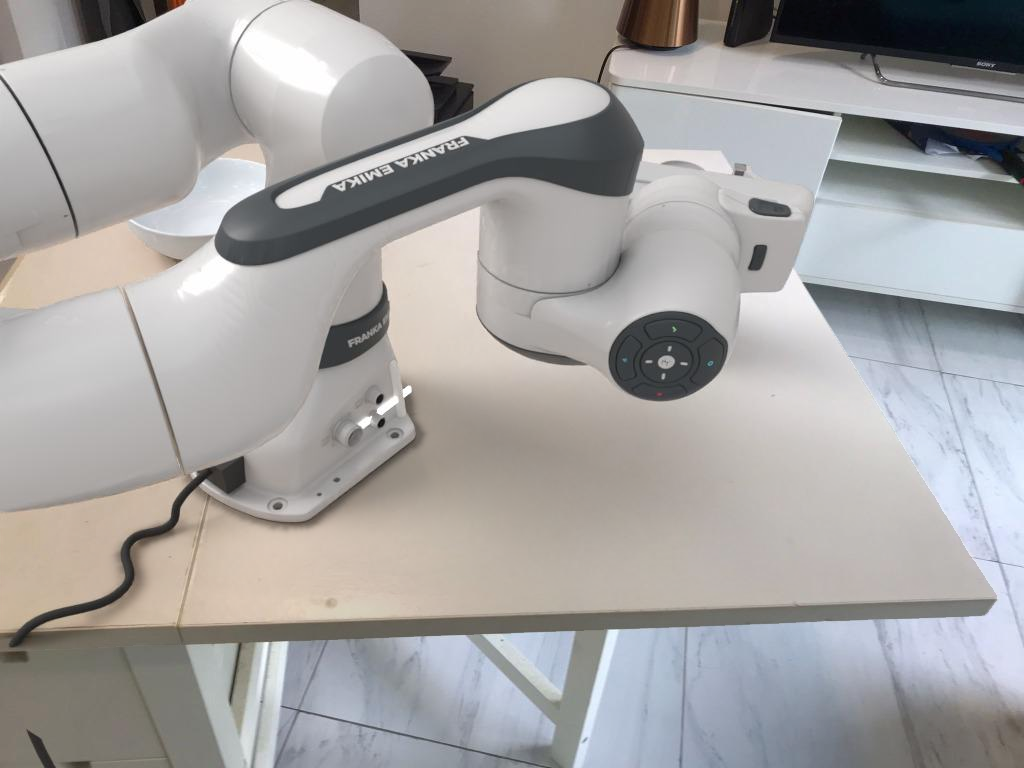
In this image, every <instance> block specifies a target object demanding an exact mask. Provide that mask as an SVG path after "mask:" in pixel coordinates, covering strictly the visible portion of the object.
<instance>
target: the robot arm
mask: <svg viewBox="0 0 1024 768" xmlns="http://www.w3.org/2000/svg"><path fill="white" fill-rule="evenodd" d="M434 103H435V102H434V95H433V91H432V89H431V85H430V84H429V81H428V79H427V78H426V76H425V75H424V73H423V71H421V69H420V68H419V67H418V66H417V65H416V64H415V63H414V62H413V61H412V60H411V59H410V58H409V57H408V56H407V55H406V54H405V53H404V52H403V51H402V50H401V49H400V48H399V47H397V46H396V45H395V44H394V43H393V42H392V41H390V39H388V37H386V36H384V34H382V33H381V32H379V31H378V30H376V29H374V28H372V27H370V26H368V25H366V24H363V23H362V22H360V21H358V20H355V19H352V18H351V17H348V16H346V15H344V14H342V13H340V12H338V11H335V10H333V9H331V8H329V7H327V6H325V5H322V4H320V3H317V2H314V1H312V0H185V1H184V3H183V4H181V5H180V6H178V7H176V8H174V9H172V10H169V11H167V12H165V13H164V14H161V15H159V16H157V17H155V18H153V19H151V20H150V21H148V22H145V23H143V24H141V25H139V26H137V27H134V28H132V29H129V30H126V31H125V32H122V33H119V34H116V35H114V36H111V37H107V38H104V39H102V40H98V41H93V42H89V43H84V44H80V45H77V46H73V47H68V48H65V49H60V50H57V51H53V52H48V53H44V54H40V55H36V56H32V57H31V56H30V57H27V58H24V59H20V60H19V59H18V60H15V61H10V62H7V63H2V64H0V262H1V261H6V260H10V259H15V258H19V257H22V256H26V255H29V254H33V253H35V252H40V251H43V250H47V249H50V248H54V247H57V246H59V245H62V244H65V243H69V242H71V241H72V242H73V241H74V240H77V239H80V238H82V237H85V236H89V235H91V234H94V233H96V232H97V233H98V232H99V231H103V230H105V229H107V228H110V227H113V226H117V225H119V224H122V223H126V221H128V220H131V219H134V218H137V217H139V216H142V215H145V214H148V213H151V212H154V211H156V210H159V209H162V208H165V207H168V206H170V205H173V204H176V203H178V202H180V201H182V200H183V199H185V198H186V197H187V196H188V195H189V194H190V193H191V192H192V190H193V189H194V187H195V185H196V182H197V179H198V176H199V172H200V171H201V170H203V169H204V168H205V167H206V166H207V165H209V164H210V163H211V162H213V161H214V160H216V159H217V158H221V157H222V156H223V155H225V154H227V153H228V152H230V151H231V150H234V149H237V148H239V147H241V146H246V145H255V144H256V145H259V148H260V150H261V152H262V156H263V159H264V163H265V165H266V181H265V189H263V190H261V191H259V192H257V193H255V194H253V195H251V196H249V197H247V198H245V199H243V200H242V201H240V202H238V203H237V204H235V205H234V206H233V207H232V208H230V209H229V210H228V211H227V212H226V214H225V215H224V217H223V219H222V222H221V224H220V226H219V229H218V231H217V233H216V235H215V236H214V237H213V238H212V239H211V240H210V241H209V242H207V243H206V244H205V245H204V246H203V247H201V248H200V249H199V250H198V251H196V252H195V253H194V254H192V255H191V256H189V257H188V258H186V259H185V260H180V262H178V263H176V264H174V265H172V266H171V267H169V268H167V269H165V270H163V271H161V272H158V273H156V274H153V275H151V276H149V277H145V278H143V279H139V280H135V281H133V282H129V283H125V284H122V285H121V286H122V287H121V288H120V286H119V285H117V286H112V287H108V288H104V289H99V290H95V291H91V292H87V293H83V294H80V295H76V296H74V297H70V298H65V299H62V300H59V301H55V302H52V303H49V304H46V305H44V306H43V305H42V306H40V307H37V308H15V307H14V308H13V307H4V306H0V514H14V513H20V512H21V513H22V512H28V511H35V510H42V509H49V508H56V507H60V506H65V505H72V504H77V503H84V502H88V501H92V500H98V499H101V498H106V497H110V496H116V495H120V494H124V493H127V492H131V491H136V490H139V489H143V488H146V487H151V486H154V485H157V484H162V483H164V482H167V481H171V480H174V479H178V478H180V477H182V473H183V475H184V476H188V475H190V477H191V479H192V480H191V481H190V482H188V483H187V485H186V486H185V487H184V488H183V489H182V490H181V491H180V492H179V493H178V495H177V496H176V497H175V499H174V501H173V503H172V506H171V509H170V510H171V511H170V518H169V519H168V520H167V521H166V522H165V523H163V524H161V525H159V526H155V527H150V528H145V529H141V530H138V531H135V532H133V533H131V534H130V535H129V536H128V537H126V539H125V540H124V541H123V543H122V546H121V548H120V553H119V554H120V561H121V563H122V568H123V571H124V578H123V581H122V583H121V584H120V585H119V586H118V587H117V588H116V589H115V590H114V591H112V592H110V593H108V594H107V595H105V596H103V597H100V598H97V599H93V600H91V601H86V602H82V603H78V604H72V605H68V606H64V607H60V608H59V607H58V608H56V609H52V610H49V611H45V612H43V613H41V614H38V615H37V616H34V617H32V618H31V619H30V620H28V621H26V622H25V623H24V624H23V625H22V626H21V627H20V628H19V629H18V630H17V631H16V632H15V634H14V635H13V636H12V637H11V640H10V641H9V643H8V647H9V648H15V647H18V646H19V645H21V644H22V642H23V641H24V640H25V638H26V637H27V636H28V635H29V634H30V633H32V631H33V630H35V629H36V628H38V627H40V626H42V625H45V624H47V623H49V622H52V621H55V620H59V619H62V618H66V617H67V618H68V617H71V616H76V615H81V614H85V613H89V612H93V611H96V610H99V609H102V608H105V607H107V606H109V605H111V604H113V603H115V602H116V601H118V600H120V599H121V598H122V597H123V596H124V595H126V593H128V592H129V590H130V589H131V587H132V585H133V584H134V581H135V578H136V571H135V566H134V564H133V563H134V562H133V560H132V556H131V550H132V547H133V546H134V544H135V543H137V542H138V541H140V540H144V539H147V538H152V537H157V536H160V535H164V534H166V533H169V532H170V531H171V530H173V529H174V528H175V527H176V526H177V524H178V523H179V520H180V516H181V508H182V506H183V504H184V503H185V501H186V500H187V498H188V497H189V496H190V495H191V494H192V493H193V492H194V491H195V490H196V489H197V488H198V487H199V488H200V489H201V490H202V491H203V492H204V493H206V494H207V495H209V496H210V497H211V498H213V499H215V500H216V501H217V502H220V503H222V504H224V505H225V506H228V507H229V508H232V509H235V510H237V511H239V512H241V513H244V514H247V515H249V516H252V517H255V518H259V519H263V520H267V521H272V522H279V523H280V522H281V523H301V522H302V523H303V522H306V521H308V520H310V519H312V518H313V517H315V516H316V515H318V514H319V513H320V512H322V511H323V510H324V509H325V508H327V507H328V506H330V504H332V503H334V502H335V501H336V500H337V499H338V498H340V497H341V496H343V495H344V494H345V493H346V492H348V491H349V490H350V489H352V488H353V487H354V486H356V484H358V483H360V481H362V480H364V479H365V478H366V477H368V475H370V474H372V473H373V472H374V471H375V470H376V469H377V468H379V467H380V466H382V465H383V464H384V463H385V462H387V461H388V460H389V459H390V458H392V457H393V456H394V455H396V454H397V453H398V452H400V451H402V449H404V448H405V447H406V446H408V445H409V444H410V443H412V441H414V440H415V438H416V435H417V434H416V433H417V432H416V427H415V424H414V422H413V420H412V419H411V417H410V415H409V413H408V412H407V408H406V401H405V398H406V397H407V396H408V395H409V394H411V393H412V386H411V385H407V386H405V388H403V383H402V377H401V370H400V366H399V361H398V359H397V356H396V354H395V352H394V348H393V346H392V343H391V341H390V337H389V334H388V330H389V326H390V312H391V305H390V303H391V302H390V300H389V295H388V287H387V285H386V283H385V281H384V280H383V264H382V263H383V261H382V260H383V259H382V248H384V247H386V246H387V245H389V244H391V243H393V242H395V241H397V240H399V239H402V238H404V237H408V236H409V235H412V234H414V233H417V232H420V231H422V230H424V229H427V228H429V227H432V226H435V225H437V224H440V223H442V222H444V221H447V220H449V219H452V218H454V217H457V216H459V215H461V214H464V213H467V212H469V211H471V210H475V209H476V208H479V222H478V223H479V224H478V225H479V226H478V231H479V232H478V249H477V253H476V258H477V259H476V289H475V290H476V295H475V296H476V297H475V298H476V302H475V303H476V304H475V311H476V316H477V319H478V321H479V322H480V323H481V326H483V328H484V329H485V330H486V331H487V333H488V334H489V335H490V336H491V337H492V338H494V339H495V340H496V341H497V342H498V343H500V344H501V345H502V346H504V348H507V349H508V350H510V351H512V352H514V353H516V354H518V355H520V356H522V357H525V358H527V359H530V360H534V361H537V362H541V363H544V364H545V363H546V364H552V365H557V366H572V367H575V366H576V367H577V366H590V367H592V368H594V369H595V370H597V372H599V373H601V374H602V375H603V376H604V377H605V378H606V379H607V380H608V381H609V382H610V383H611V384H612V385H613V386H614V387H615V388H616V389H618V390H619V391H621V392H622V393H624V394H626V395H628V396H630V397H632V398H635V399H638V400H641V401H642V400H643V401H647V402H648V401H649V402H656V403H664V402H665V403H666V402H673V401H678V400H681V399H684V398H686V397H689V396H692V395H693V394H695V393H698V392H699V391H700V390H702V389H704V388H705V387H706V386H707V385H709V384H711V382H713V381H714V380H715V379H716V377H718V376H719V374H721V372H722V370H723V369H724V368H725V366H726V364H727V363H728V362H729V359H730V357H731V354H732V353H733V350H734V347H735V344H736V340H737V338H738V337H737V336H738V330H739V325H740V315H741V301H742V300H741V295H742V294H752V293H754V294H755V293H757V294H758V293H778V292H781V291H782V290H783V289H784V288H785V285H786V284H787V281H788V279H789V278H790V275H791V274H792V271H793V269H794V266H795V263H796V261H797V259H798V256H799V253H800V250H801V248H802V245H803V242H804V240H805V237H806V233H807V231H808V227H809V223H810V222H811V221H810V220H811V218H812V215H813V211H814V209H815V208H814V207H815V195H814V192H813V191H812V190H811V189H810V188H807V186H804V185H802V184H797V183H790V182H783V181H778V180H777V181H776V180H771V179H770V180H769V179H765V178H764V177H762V176H760V175H758V174H757V173H756V172H755V171H753V165H752V164H745V163H738V162H735V163H734V164H733V170H732V173H724V172H723V173H722V172H716V171H711V170H705V169H704V170H705V171H704V170H697V169H690V168H684V167H677V166H670V165H664V164H661V163H656V162H649V161H643V156H644V149H645V140H644V138H643V136H642V133H641V131H640V130H639V127H638V126H637V124H636V122H635V121H634V119H633V116H632V115H631V114H630V112H629V111H628V110H627V108H626V107H625V105H624V104H623V102H622V101H621V100H620V99H619V98H618V97H617V95H616V94H615V93H614V92H613V91H612V90H611V89H610V88H609V87H607V86H605V84H602V83H600V82H597V81H595V80H591V79H587V78H582V77H575V76H549V77H542V78H541V77H540V78H536V79H532V80H527V81H524V82H522V83H519V84H517V85H514V86H512V87H510V88H507V89H506V90H504V91H503V92H501V93H498V94H497V95H496V96H494V97H492V98H490V99H488V100H486V101H485V102H483V103H482V104H480V105H478V106H476V107H474V108H473V109H471V110H469V111H466V112H463V113H462V114H458V115H456V116H454V117H451V118H449V119H446V120H443V121H440V122H437V123H435V124H434V122H435V104H434ZM121 289H122V290H121ZM181 472H182V473H181ZM25 731H26V733H27V735H28V738H29V740H30V742H31V744H32V746H33V749H34V751H35V753H36V756H37V758H38V759H39V760H40V762H41V765H42V766H43V768H57V767H56V765H55V763H54V761H53V760H52V758H51V756H50V754H49V752H48V750H47V748H46V746H45V744H44V742H43V739H42V738H41V737H40V736H38V735H37V734H35V733H34V732H32V731H30V730H29V729H27V728H26V730H25Z"/></svg>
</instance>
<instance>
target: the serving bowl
mask: <svg viewBox="0 0 1024 768" xmlns="http://www.w3.org/2000/svg"><path fill="white" fill-rule="evenodd" d="M265 181H266V164H264V163H262V162H258V161H254V160H249V159H243V158H233V157H219V158H217V159H216V160H214V161H213V162H211V163H210V164H209V165H207V166H206V167H205V168H204V169H203V170H201V171H200V172H199V176H198V179H197V182H196V185H195V187H194V189H193V190H192V192H191V193H190V194H189V195H188V196H187V197H186V198H185V199H183V200H182V201H180V202H178V203H176V204H173V205H170V206H168V207H165V208H162V209H159V210H156V211H154V212H151V213H148V214H145V215H142V216H139V217H137V218H134V219H131V220H128V221H125V223H126V225H127V226H128V227H129V230H130V231H131V232H132V234H133V235H134V236H135V237H136V238H137V239H138V240H139V241H140V242H141V243H143V245H145V246H146V247H148V248H150V249H151V250H153V251H155V252H156V253H159V254H161V255H164V256H165V257H169V258H172V259H176V260H180V261H183V260H185V259H186V258H188V257H189V256H191V255H192V254H194V253H195V252H196V251H198V250H199V249H200V248H201V247H203V246H204V245H205V244H206V243H207V242H209V241H210V240H211V239H212V238H213V237H214V236H215V235H216V233H217V231H218V229H219V226H220V224H221V222H222V219H223V217H224V215H225V214H226V212H227V211H228V210H229V209H230V208H232V207H233V206H234V205H235V204H237V203H238V202H240V201H242V200H243V199H245V198H247V197H249V196H251V195H253V194H255V193H257V192H259V191H261V190H263V189H265Z"/></svg>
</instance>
